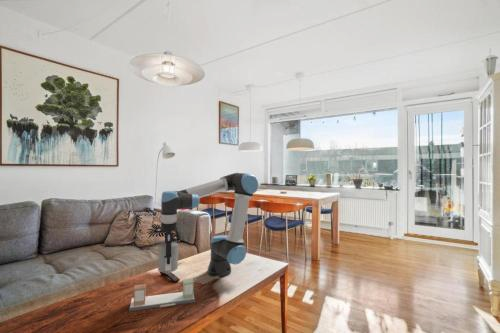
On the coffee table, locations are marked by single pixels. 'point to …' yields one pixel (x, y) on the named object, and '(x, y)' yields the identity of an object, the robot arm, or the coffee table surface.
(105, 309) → the coffee table surface
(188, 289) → the sage box
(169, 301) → the shelf board
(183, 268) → the coffee table surface
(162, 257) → the beer can
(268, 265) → the coffee table surface
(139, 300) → the clay box
